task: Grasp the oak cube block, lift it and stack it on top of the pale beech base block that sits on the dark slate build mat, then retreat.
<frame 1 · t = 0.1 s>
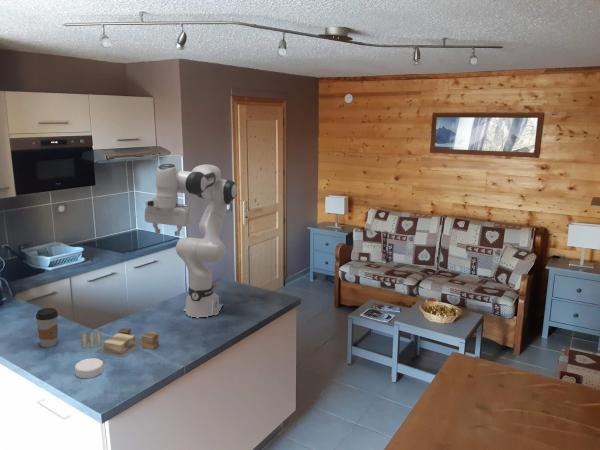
hand: (167, 234, 210), 48 cm above the counter, fingers open, 8 cm apart
build mat: (122, 347, 209), on the counter
ammunition: (92, 345, 209), on the counter
oak block: (150, 347, 210), on the counter
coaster: (89, 372, 188), on the counter
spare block: (124, 338, 216), point 1 cm above the counter, touching build mat
coffee cup: (48, 344, 208), on the counter
base block: (119, 347, 207), point 1 cm above the counter, touching build mat
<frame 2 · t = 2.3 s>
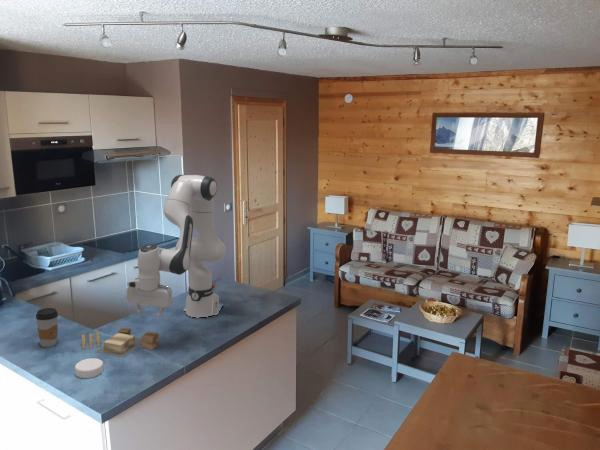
hand: (149, 314, 207), 15 cm above the counter, fingers open, 8 cm apart
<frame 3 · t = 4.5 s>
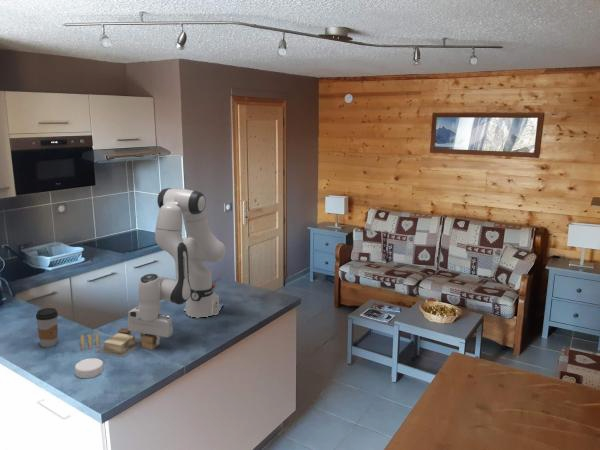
hand: (150, 342, 209), 2 cm above the counter, fingers closed on oak block, 5 cm apart
oak block: (150, 347, 210), on the counter, touching gripper
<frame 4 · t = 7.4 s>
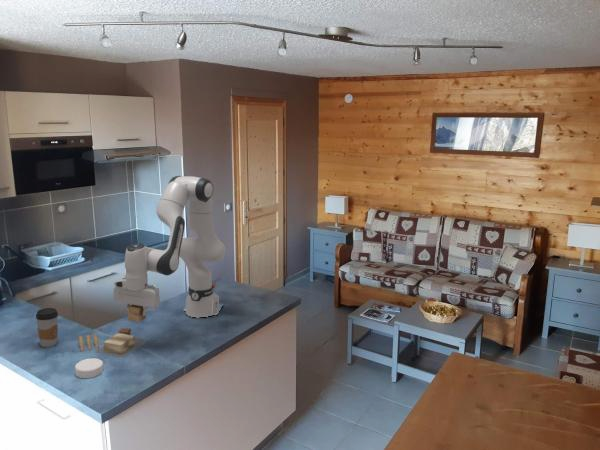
hand: (137, 314, 205), 16 cm above the counter, fingers closed on oak block, 5 cm apart
oak block: (137, 319, 206), point 13 cm above the counter, touching gripper
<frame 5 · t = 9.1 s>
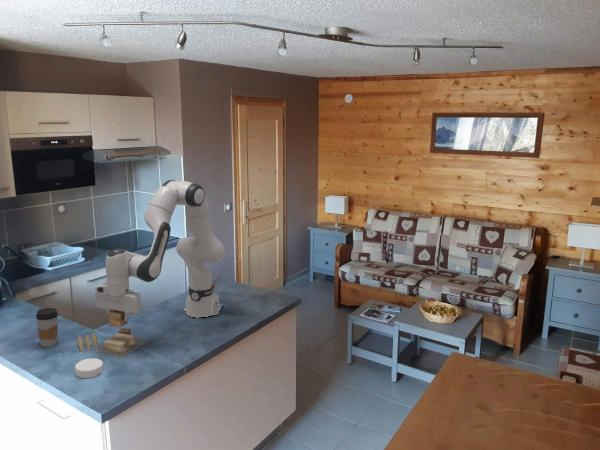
hand: (118, 319, 204), 13 cm above the counter, fingers closed on oak block, 5 cm apart
oak block: (118, 324, 205), point 11 cm above the counter, touching gripper
when the fingers open (8 cm above the counter, at t = 10.5 s): oak block drops 1 cm, resting on base block.
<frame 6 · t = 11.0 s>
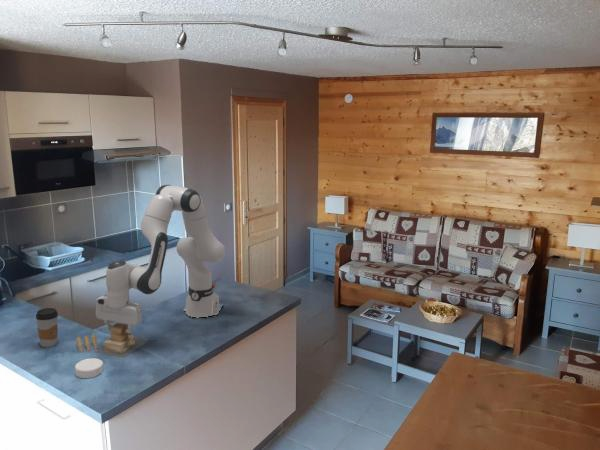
hand: (119, 331, 205), 8 cm above the counter, fingers open, 8 cm apart
oak block: (119, 339, 206), point 5 cm above the counter, touching base block
base block: (119, 347, 207), point 1 cm above the counter, touching build mat, oak block
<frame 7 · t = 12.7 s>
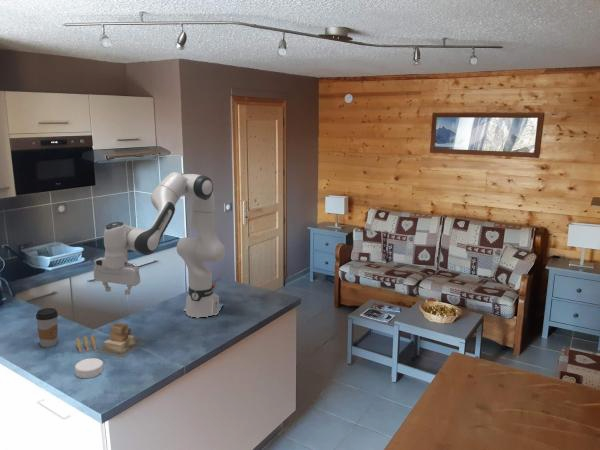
hand: (117, 292, 206), 24 cm above the counter, fingers open, 8 cm apart
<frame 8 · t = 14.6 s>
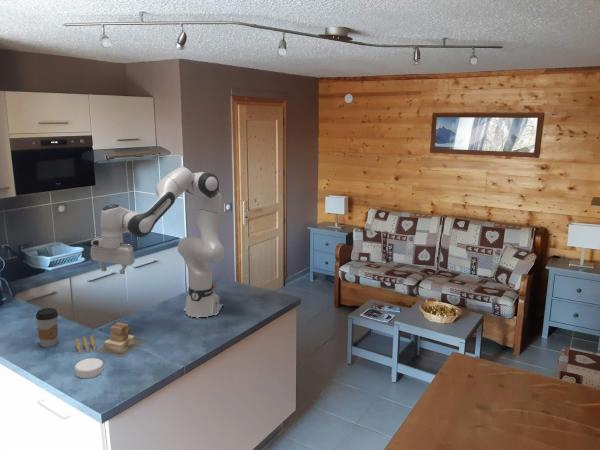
hand: (113, 272, 215), 29 cm above the counter, fingers open, 8 cm apart
at the end: oak block inside the target area on the base block (0.1 cm from its centre), point 4.0 cm above the base block's base; oak block tilted 0°; the gripper is holding nothing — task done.
